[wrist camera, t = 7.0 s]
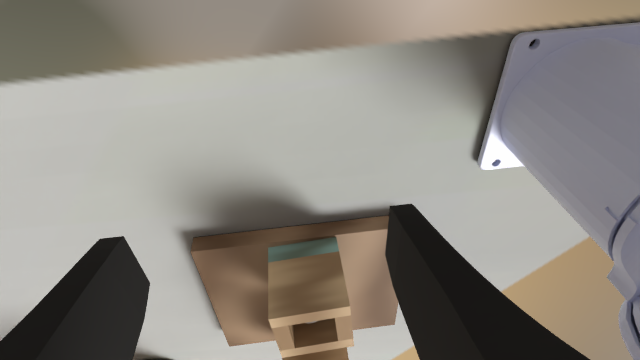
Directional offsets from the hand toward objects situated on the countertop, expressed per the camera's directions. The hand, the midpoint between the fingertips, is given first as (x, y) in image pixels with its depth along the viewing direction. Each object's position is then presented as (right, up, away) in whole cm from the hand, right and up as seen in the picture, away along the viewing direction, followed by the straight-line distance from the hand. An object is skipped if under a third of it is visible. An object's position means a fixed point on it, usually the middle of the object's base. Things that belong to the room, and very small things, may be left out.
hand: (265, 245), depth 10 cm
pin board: (+1, -6, +17) cm, 18 cm away
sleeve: (+1, -4, +14) cm, 15 cm away
